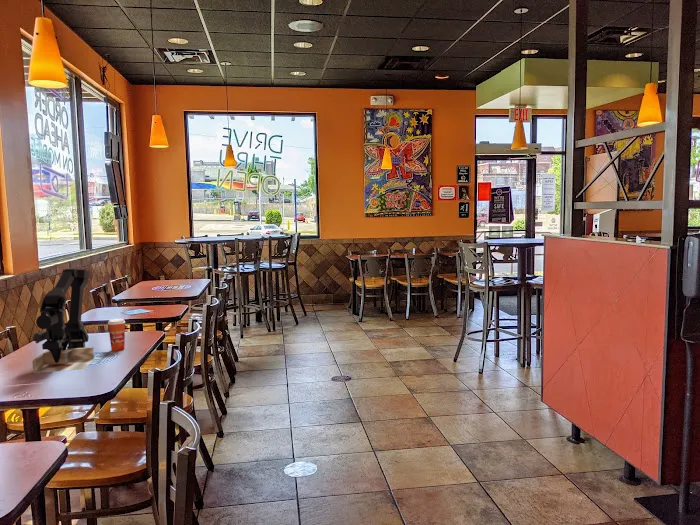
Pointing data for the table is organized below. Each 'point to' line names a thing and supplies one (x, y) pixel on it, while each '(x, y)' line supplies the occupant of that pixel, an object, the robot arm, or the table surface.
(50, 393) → the table surface
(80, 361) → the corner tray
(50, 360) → the walnut block
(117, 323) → the paper cup
